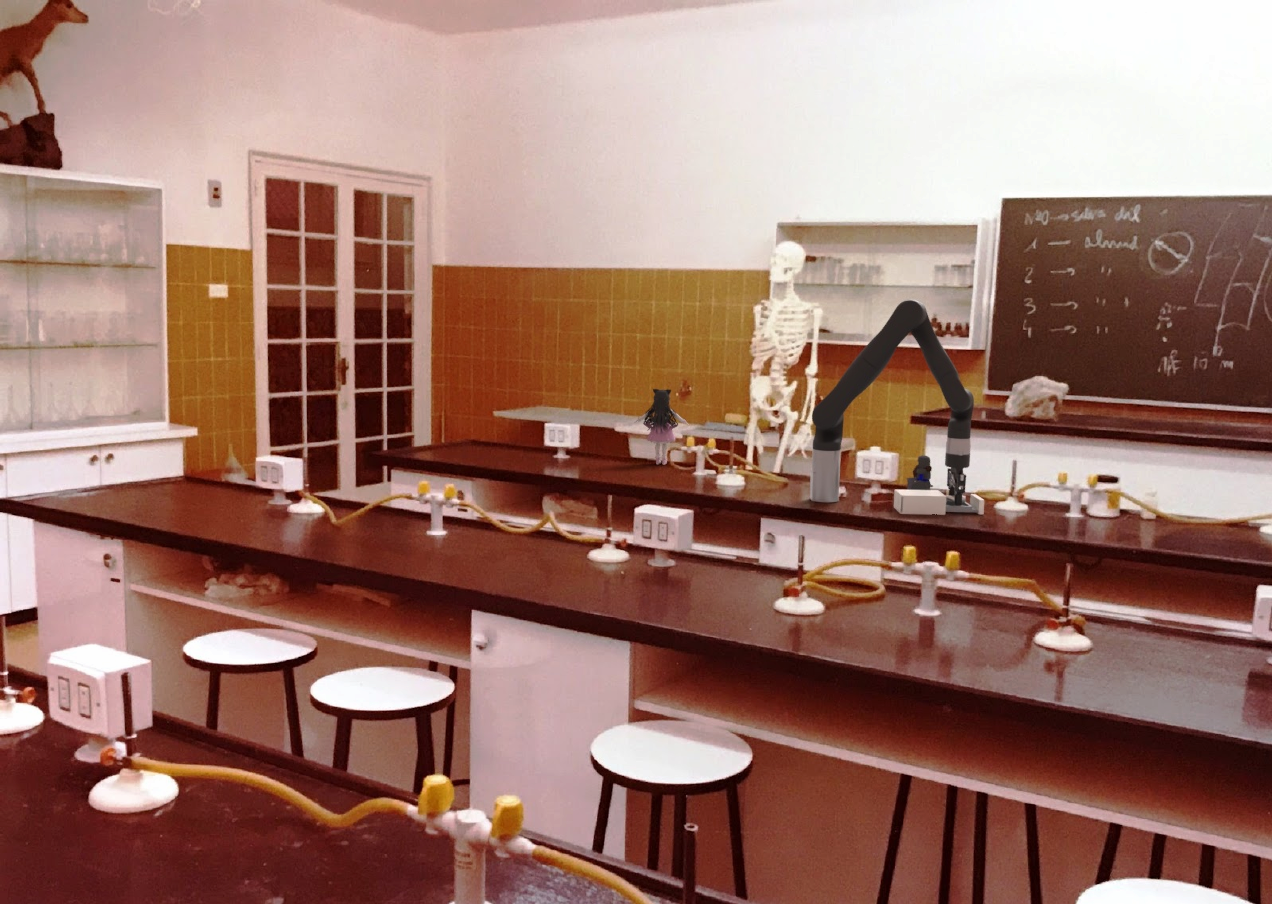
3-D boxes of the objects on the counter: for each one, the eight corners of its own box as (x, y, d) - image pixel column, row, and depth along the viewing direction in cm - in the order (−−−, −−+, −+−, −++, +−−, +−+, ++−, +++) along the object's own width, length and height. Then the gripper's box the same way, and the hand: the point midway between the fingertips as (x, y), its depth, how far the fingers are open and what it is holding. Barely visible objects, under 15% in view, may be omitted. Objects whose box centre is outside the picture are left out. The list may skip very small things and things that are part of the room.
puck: (947, 502, 361) (947, 497, 360) (942, 499, 367) (942, 494, 367) (967, 502, 360) (968, 497, 360) (962, 499, 367) (962, 495, 367)
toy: (906, 495, 392) (908, 452, 390) (934, 497, 388) (937, 454, 386) (898, 500, 383) (901, 456, 381) (927, 503, 379) (930, 458, 377)
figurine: (690, 463, 456) (692, 389, 452) (686, 467, 446) (687, 391, 442) (636, 461, 461) (637, 387, 457) (630, 464, 451) (631, 389, 447)
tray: (932, 513, 359) (933, 499, 358) (924, 507, 369) (925, 493, 369) (983, 514, 359) (984, 500, 358) (974, 508, 369) (975, 494, 368)
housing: (900, 513, 359) (901, 495, 358) (893, 507, 370) (894, 489, 369) (945, 514, 359) (946, 496, 358) (937, 508, 370) (937, 490, 369)
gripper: (940, 448, 369) (937, 499, 371) (951, 454, 354) (948, 507, 357) (963, 449, 368) (961, 499, 371) (975, 455, 354) (972, 508, 357)
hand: (955, 503), depth 364 cm, fingers open, 6 cm apart
